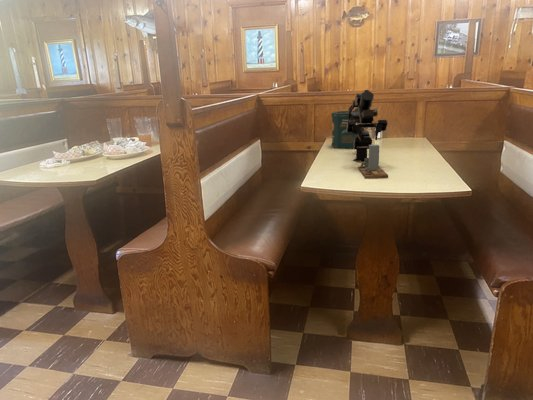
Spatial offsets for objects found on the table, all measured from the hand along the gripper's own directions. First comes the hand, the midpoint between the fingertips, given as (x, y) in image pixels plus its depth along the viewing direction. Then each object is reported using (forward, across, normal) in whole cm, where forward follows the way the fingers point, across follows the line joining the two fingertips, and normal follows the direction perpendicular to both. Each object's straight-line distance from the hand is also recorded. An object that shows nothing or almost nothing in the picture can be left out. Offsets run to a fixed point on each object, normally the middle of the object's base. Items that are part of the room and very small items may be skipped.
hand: (368, 140), depth 205 cm
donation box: (-34, -3, +53) cm, 63 cm away
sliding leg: (+17, -1, 0) cm, 17 cm away
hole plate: (+17, 0, +2) cm, 17 cm away
